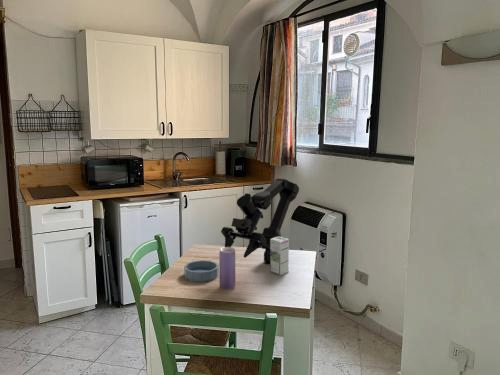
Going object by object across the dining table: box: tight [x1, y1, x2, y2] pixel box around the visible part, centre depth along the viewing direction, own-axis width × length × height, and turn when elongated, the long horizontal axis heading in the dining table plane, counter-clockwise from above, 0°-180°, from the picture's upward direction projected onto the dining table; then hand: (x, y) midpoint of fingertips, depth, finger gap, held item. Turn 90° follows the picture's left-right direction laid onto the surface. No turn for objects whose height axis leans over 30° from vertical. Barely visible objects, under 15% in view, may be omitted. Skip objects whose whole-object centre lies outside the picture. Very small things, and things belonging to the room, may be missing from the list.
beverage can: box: [218, 246, 236, 291], centre depth 153 cm, size 6×6×15 cm
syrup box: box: [269, 236, 290, 276], centre depth 169 cm, size 6×6×14 cm
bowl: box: [183, 259, 220, 283], centre depth 166 cm, size 14×14×4 cm
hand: (234, 255), depth 156 cm, fingers open, 9 cm apart
